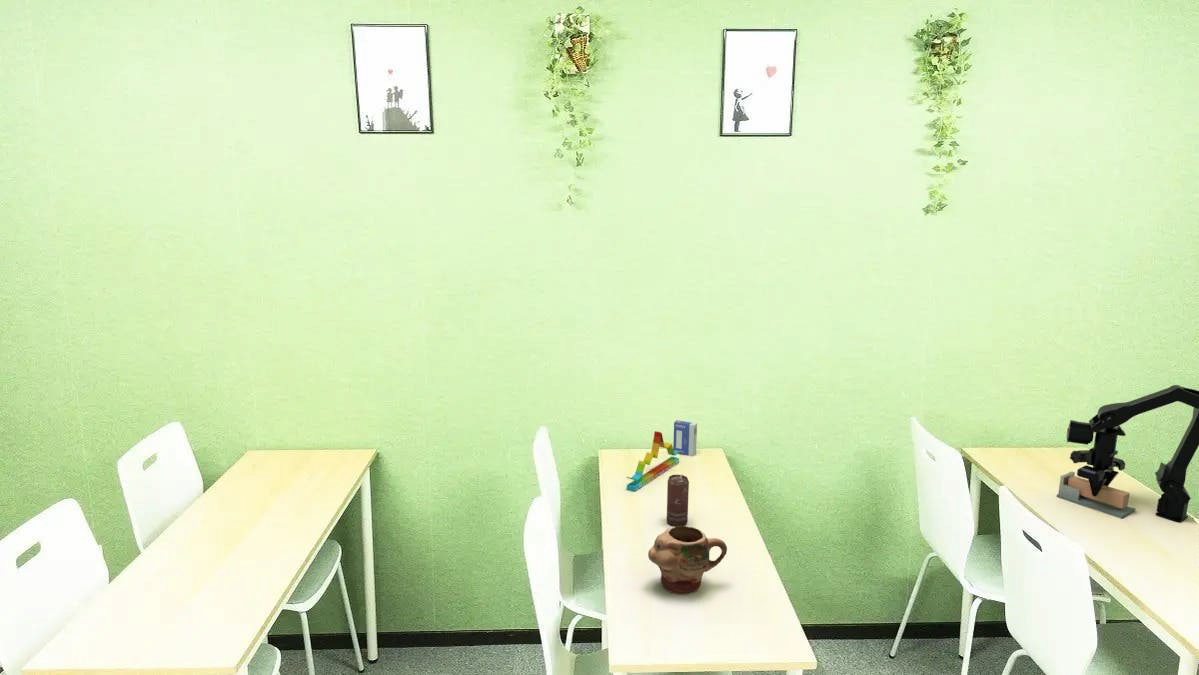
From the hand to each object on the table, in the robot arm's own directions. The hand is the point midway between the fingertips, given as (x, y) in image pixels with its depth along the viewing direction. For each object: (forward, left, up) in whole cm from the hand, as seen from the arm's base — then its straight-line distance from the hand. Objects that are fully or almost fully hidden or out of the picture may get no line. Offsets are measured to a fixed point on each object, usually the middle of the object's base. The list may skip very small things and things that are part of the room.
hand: (1097, 494), depth 252 cm
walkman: (+106, +77, -4) cm, 131 cm away
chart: (+96, +99, -4) cm, 138 cm away
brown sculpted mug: (+37, +137, -4) cm, 141 cm away
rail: (0, 0, -1) cm, 1 cm away
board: (0, 0, -3) cm, 3 cm away
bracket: (+6, 0, -3) cm, 7 cm away
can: (+65, +116, -4) cm, 133 cm away
